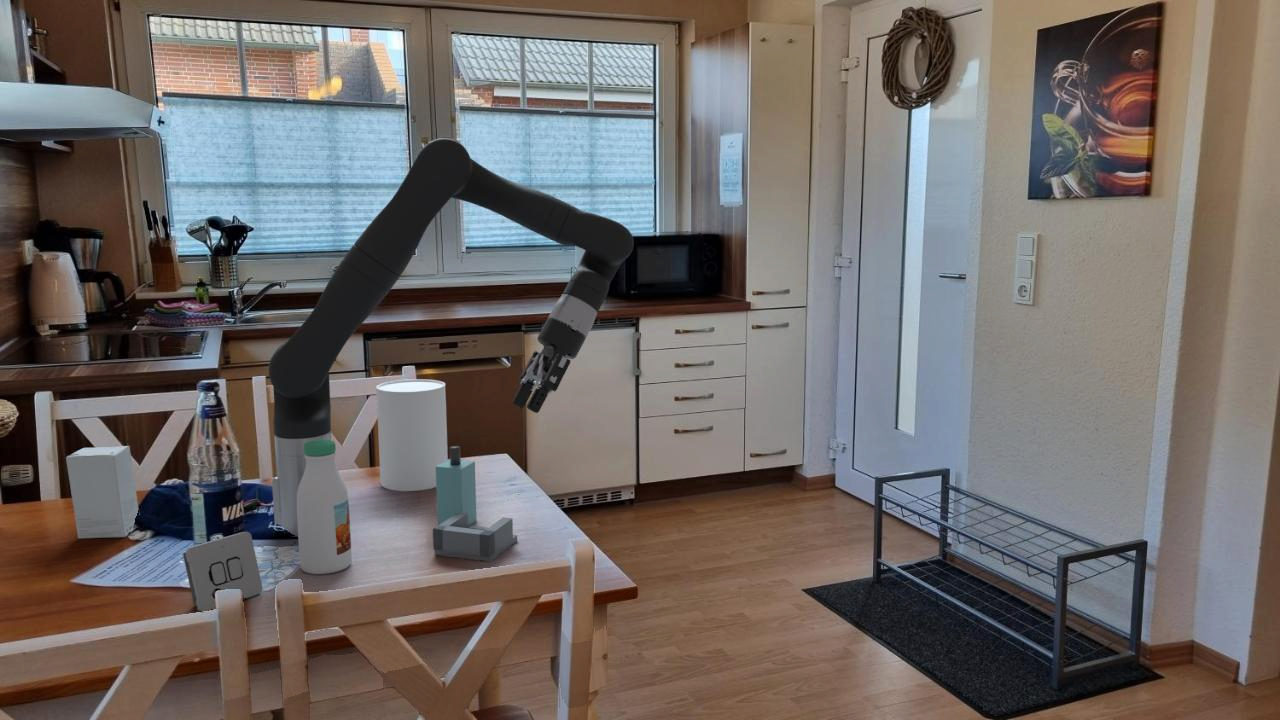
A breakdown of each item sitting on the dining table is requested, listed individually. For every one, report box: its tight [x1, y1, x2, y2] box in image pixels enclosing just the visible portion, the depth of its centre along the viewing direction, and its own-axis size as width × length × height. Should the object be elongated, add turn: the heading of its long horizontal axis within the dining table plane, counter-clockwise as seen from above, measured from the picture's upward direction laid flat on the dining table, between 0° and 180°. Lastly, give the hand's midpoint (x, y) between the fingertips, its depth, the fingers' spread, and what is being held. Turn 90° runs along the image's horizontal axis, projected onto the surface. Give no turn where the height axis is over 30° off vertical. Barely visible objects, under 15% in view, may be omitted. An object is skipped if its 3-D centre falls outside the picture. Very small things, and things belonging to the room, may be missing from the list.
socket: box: [432, 512, 518, 563], centre depth 155 cm, size 10×10×4 cm
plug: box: [435, 445, 477, 527], centre depth 166 cm, size 5×5×14 cm
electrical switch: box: [182, 531, 263, 612], centre depth 135 cm, size 9×5×9 cm, turn 141°
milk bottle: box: [297, 439, 353, 575], centre depth 146 cm, size 8×8×20 cm
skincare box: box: [65, 445, 140, 539], centre depth 161 cm, size 8×6×15 cm
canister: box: [375, 378, 449, 492], centre depth 191 cm, size 14×14×20 cm
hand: (524, 408), depth 161 cm, fingers open, 8 cm apart
